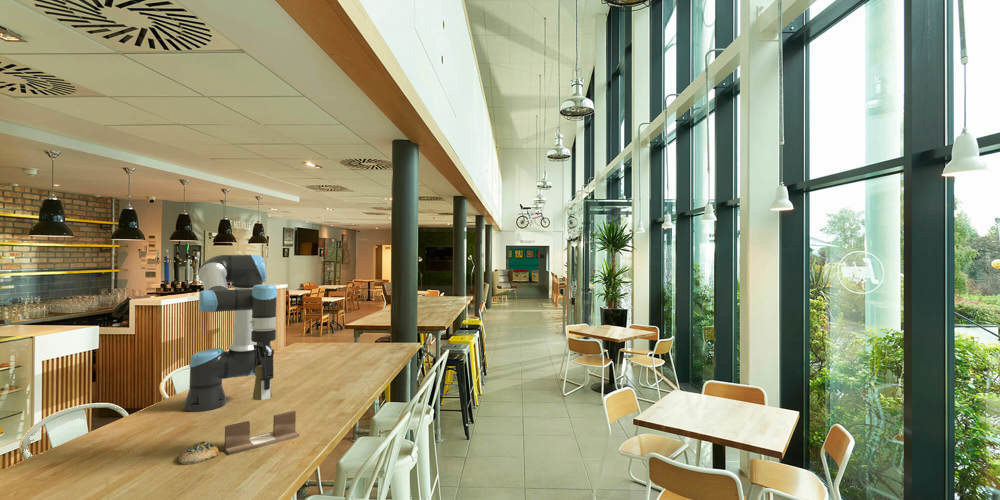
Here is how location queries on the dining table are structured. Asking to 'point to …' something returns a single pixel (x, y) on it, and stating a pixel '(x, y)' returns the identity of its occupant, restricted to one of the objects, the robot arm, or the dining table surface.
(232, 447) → the notched board
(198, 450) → the bread roll
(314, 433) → the dining table surface
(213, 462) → the dining table surface
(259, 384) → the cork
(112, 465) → the dining table surface
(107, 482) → the dining table surface
